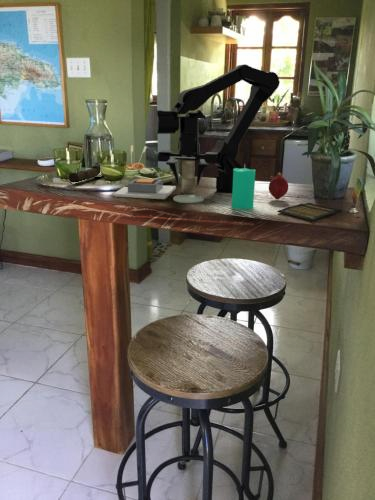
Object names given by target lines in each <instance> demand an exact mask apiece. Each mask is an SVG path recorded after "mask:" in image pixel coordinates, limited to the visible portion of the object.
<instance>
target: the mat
mask: <svg viewBox="0 0 375 500" xmlns="http://www.w3.org/2000/svg"><path fill="white" fill-rule="evenodd" d="M173 201H174V202H176V203H180V204H198V203H203V202H204V201H205V197H204V196H203V195H202V196H201V195H199V194H198V195H197V194H177V195H174V196H173Z"/></svg>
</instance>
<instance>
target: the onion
mask: <svg viewBox="0 0 375 500" xmlns="http://www.w3.org/2000/svg"><path fill="white" fill-rule="evenodd" d="M268 192H269V193H270V195H271V196H272V197H273V198H275V200H280V199H281V198H283V197H285V196H286V195H287V193H288V192H289V183H288V180H287V179H286V178H285V177H284V176H283V175H282V173H281V172H278V173H277V175H275V176H274V177H273V178H272V179H271V180H270V182H269V184H268Z"/></svg>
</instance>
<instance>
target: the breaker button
mask: <svg viewBox="0 0 375 500" xmlns="http://www.w3.org/2000/svg"><path fill="white" fill-rule="evenodd" d="M138 179H139V180H137V181H136V183H141V184H154V183H155V179H156V178H155V179H154V178H138Z"/></svg>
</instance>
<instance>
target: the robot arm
mask: <svg viewBox="0 0 375 500" xmlns="http://www.w3.org/2000/svg"><path fill="white" fill-rule="evenodd" d="M279 78H280V77H279V76H278V74H277V72H274V71H264V70H261V69H258V68H254V67H252V66H251V65H248V64H238V65H237V66H236V67H234V68H233V69H231V70H229V71H227V72H225V73H223V74H222V75H220V76H218V77H216V78H214V79H212V80H211V81H209V82H206V83H205V84H201V85H198V86H195V87H192V88H191V87H190V88H188V89H184V90H182V91H181V92H180V93H179V94H178V98H177V102H176V104H174V106H173V108H172V109H171V110H161V109H157V110H155V117H154V121H153V128H154V132H155V135H174V134H176V132H177V131H179V137H178V142H177V143H178V145H177V149H178V153H175V152H174V151H173V150H160V151H158V153H157V155H156V161H157V162H161V163H163V162H166V163H165V165H168V166H169V167H170V169H171V171H172V173H173V176H174V180H175V182H176V184H177V185H180V170H179V169H180V168H179V166H180V165H179V163H180V162H179V161H180V160H194V161H199V163H198V167H197V178H196V185H197V186H199V185H200V181H201V180H202V177H203V173H204V171H205V169H206V167H209V166H210V165H211V164H212V165H213V164H214V165H215V167H216V169H217V171H218V172H217V175H216V177H215V189H216V192H218V193H231V194H232V190H233V170H234V169H235V168H238V169H242V168H243V166H242V165H241V164H240V163H239V162H238V161H237V158H238V155H239V148H240V143H241V142H242V140H243V138H244V137H245V135H246V133H247V132H248V131H249V128H250V126H251V125H252V123H253V121H254V120H255V118H256V116H257V114H258V112H259V110H260V109H261V107H262V105H263V104H264V103H265V102H266V101H267V100H269V99H270V98H271V97H272V95H274V93H275V92H276V90H277V89H278V88H279V86H280V83H281V82H280V79H279ZM241 81H244V82H245V83H247V84H249V85H250V91H249V97H248V99H247V101H246V102H245V104H244V106H243V107H242V110H241V112H240V113H239V115H238V117H237V118H236V121H234V123H233V126H232V128H231V129H230V131H229V133H228V134H227V136H226V137H225V139H223V140H220V139H217V141H216V143H215V146H214V147H213V148H212V149H211V151H207V152H205V154H201V153H200V152H201V144H200V142H199V119H206V115H205V114H203V112H202V110H201V109H200V108H201V107H202V106H203V105H204V104H206V103H207V101H208V100H209V99H211V97H213V96H215V95H217V94H219V93H221V92H223V91H224V90H226V89H228V88H229V87H232V86H233V85H236V84H238V83H240V82H241ZM191 111H192V112H191ZM193 111H195V112H193Z"/></svg>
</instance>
